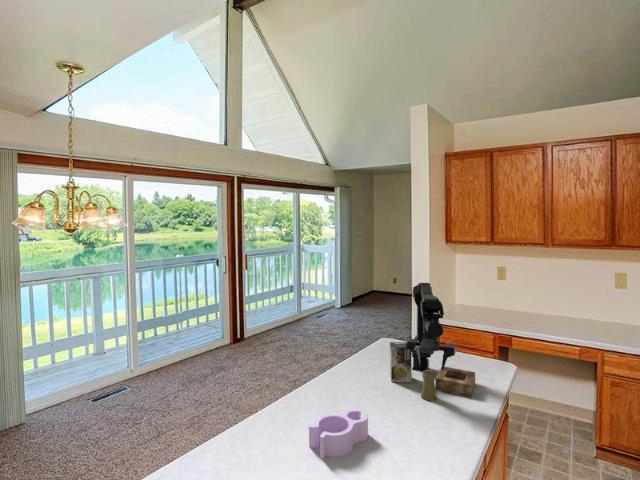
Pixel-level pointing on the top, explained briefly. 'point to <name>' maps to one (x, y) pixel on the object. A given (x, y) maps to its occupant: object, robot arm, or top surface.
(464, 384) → the well block
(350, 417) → the clip
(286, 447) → the top surface
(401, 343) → the coffee box
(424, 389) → the olive tall rounded piece
